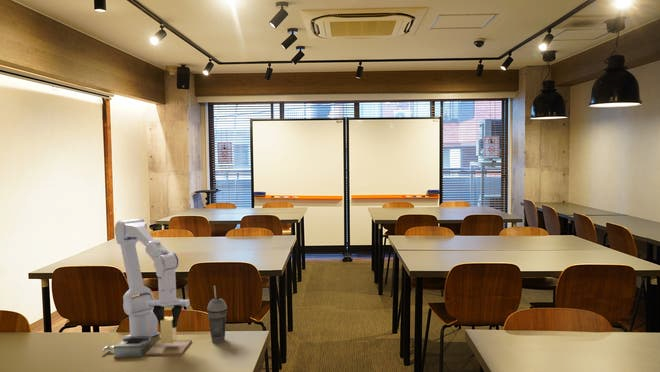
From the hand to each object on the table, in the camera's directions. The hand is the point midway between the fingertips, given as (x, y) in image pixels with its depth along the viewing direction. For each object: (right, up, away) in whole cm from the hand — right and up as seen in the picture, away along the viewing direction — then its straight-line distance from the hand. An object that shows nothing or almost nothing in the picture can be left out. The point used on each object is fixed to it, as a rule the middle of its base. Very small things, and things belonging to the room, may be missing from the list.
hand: (168, 326), depth 164 cm
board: (0, -8, 0) cm, 8 cm away
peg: (0, -5, 0) cm, 5 cm away
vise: (-14, -8, -2) cm, 16 cm away
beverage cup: (+16, -7, +7) cm, 19 cm away
